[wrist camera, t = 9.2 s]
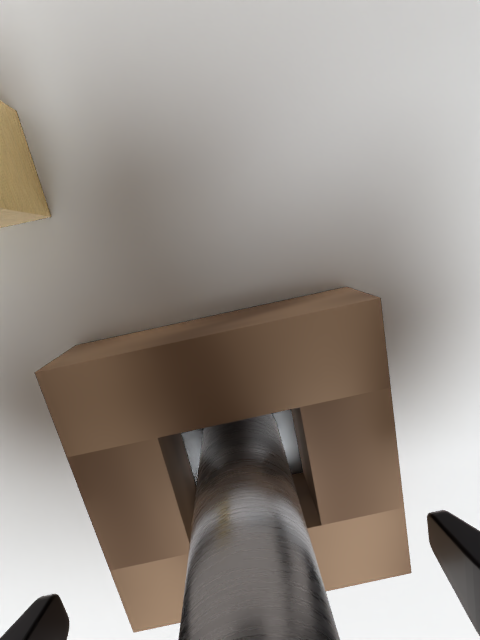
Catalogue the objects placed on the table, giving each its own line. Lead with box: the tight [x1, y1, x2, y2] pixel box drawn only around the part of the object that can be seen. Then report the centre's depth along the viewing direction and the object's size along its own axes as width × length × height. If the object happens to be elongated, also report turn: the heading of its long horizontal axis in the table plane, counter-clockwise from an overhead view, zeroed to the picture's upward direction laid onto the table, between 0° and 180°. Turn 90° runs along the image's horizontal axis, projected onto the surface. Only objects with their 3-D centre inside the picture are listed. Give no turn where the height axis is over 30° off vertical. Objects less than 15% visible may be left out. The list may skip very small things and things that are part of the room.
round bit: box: [179, 414, 340, 640], centre depth 9 cm, size 3×3×8 cm
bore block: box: [35, 287, 411, 632], centre depth 12 cm, size 10×10×3 cm
